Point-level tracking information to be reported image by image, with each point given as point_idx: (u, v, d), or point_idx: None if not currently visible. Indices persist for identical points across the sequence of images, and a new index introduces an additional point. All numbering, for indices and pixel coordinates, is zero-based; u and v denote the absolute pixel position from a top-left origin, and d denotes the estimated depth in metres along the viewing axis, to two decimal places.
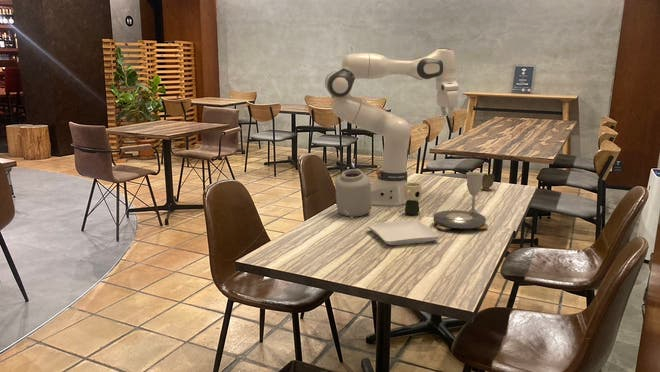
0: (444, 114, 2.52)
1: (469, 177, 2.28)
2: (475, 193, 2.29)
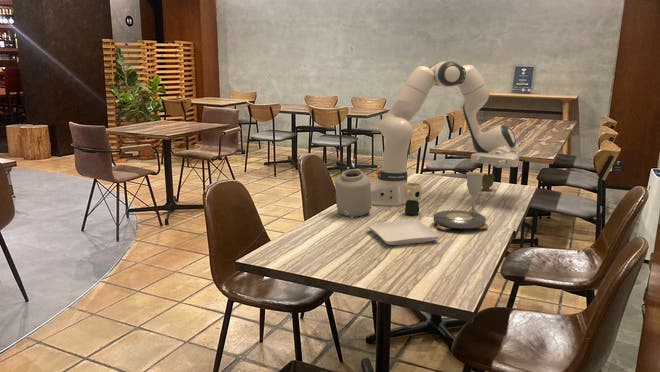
0: (479, 160, 2.41)
1: (469, 177, 2.28)
2: (475, 193, 2.29)
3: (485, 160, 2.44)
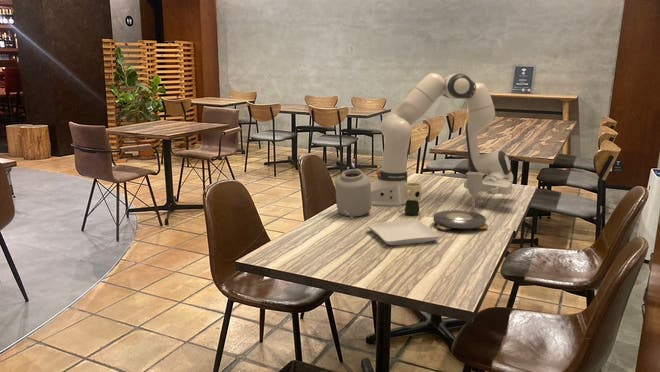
0: None
1: (469, 177, 2.28)
2: (475, 193, 2.29)
3: None
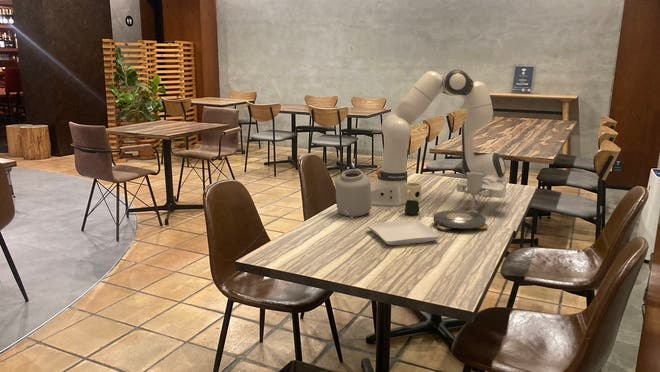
0: (468, 191, 2.32)
1: (469, 177, 2.28)
2: (475, 193, 2.29)
3: None
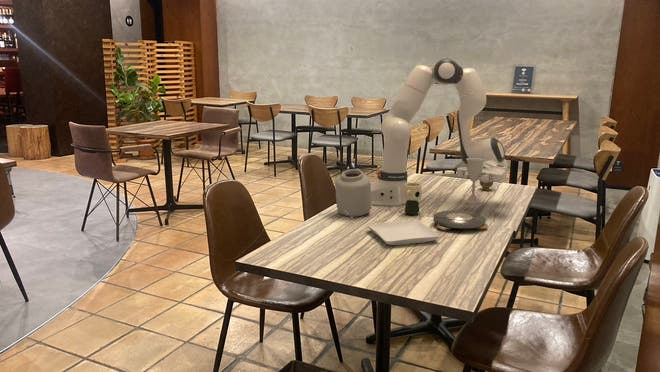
0: (468, 176, 2.30)
1: (469, 163, 2.26)
2: (475, 179, 2.27)
3: None
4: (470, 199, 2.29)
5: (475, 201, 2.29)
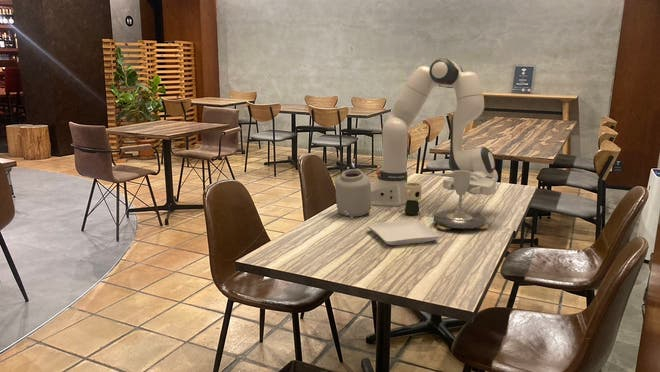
0: (451, 187, 2.18)
1: (455, 175, 2.13)
2: (462, 193, 2.14)
3: None
4: (457, 214, 2.16)
5: (462, 216, 2.16)
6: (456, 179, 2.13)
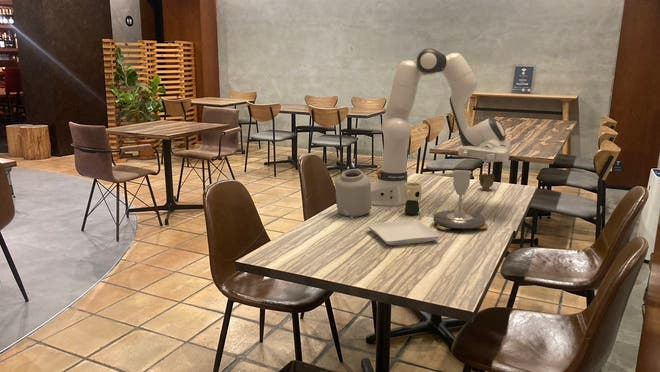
0: (466, 154, 2.25)
1: (455, 175, 2.13)
2: (462, 193, 2.14)
3: (473, 153, 2.28)
4: (457, 214, 2.16)
5: (462, 216, 2.16)
6: (456, 179, 2.13)
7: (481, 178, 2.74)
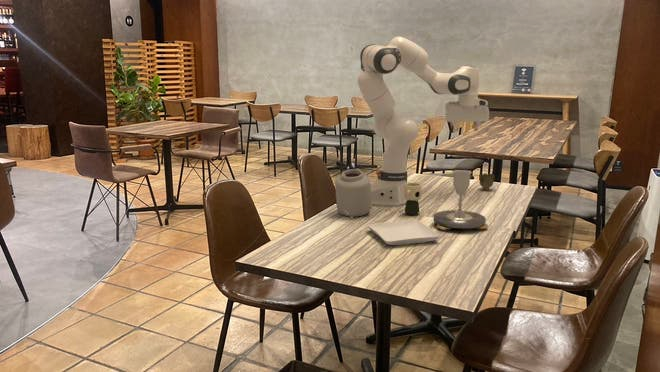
0: None
1: (455, 175, 2.13)
2: (462, 193, 2.14)
3: None
4: (457, 214, 2.16)
5: (462, 216, 2.16)
6: (456, 179, 2.13)
7: (481, 178, 2.74)
